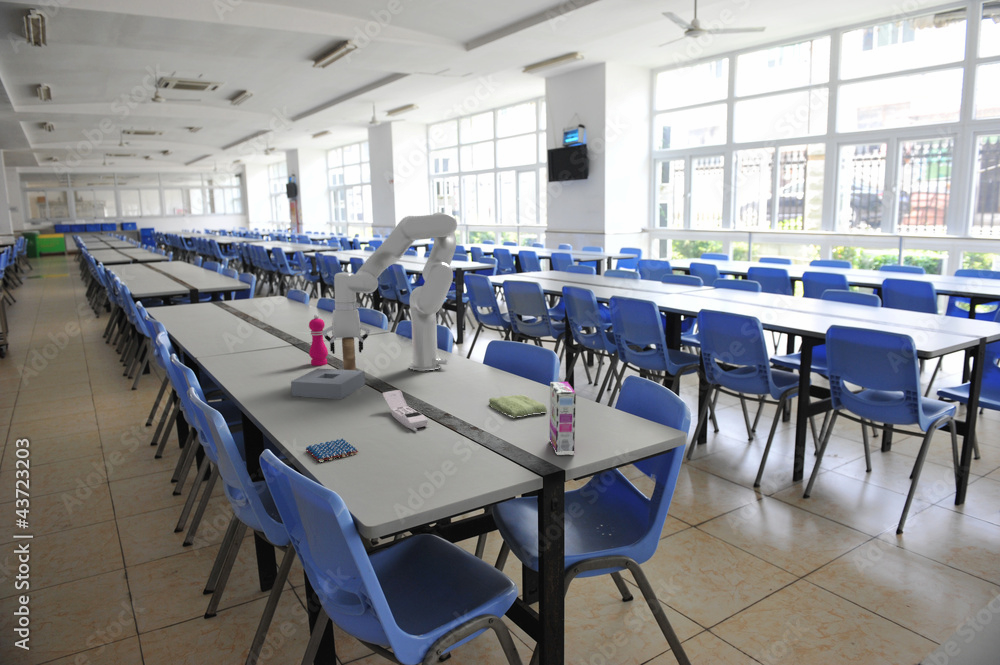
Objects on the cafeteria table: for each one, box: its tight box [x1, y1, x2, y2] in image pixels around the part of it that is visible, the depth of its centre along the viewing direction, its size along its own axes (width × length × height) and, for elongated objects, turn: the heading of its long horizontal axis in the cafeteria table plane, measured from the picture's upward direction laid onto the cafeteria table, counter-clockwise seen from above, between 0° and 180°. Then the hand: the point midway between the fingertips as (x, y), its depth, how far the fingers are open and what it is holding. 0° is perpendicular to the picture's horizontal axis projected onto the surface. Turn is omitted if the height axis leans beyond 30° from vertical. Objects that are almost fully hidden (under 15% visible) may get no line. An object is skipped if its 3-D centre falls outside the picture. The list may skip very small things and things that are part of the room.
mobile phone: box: [382, 389, 429, 433], centre depth 193 cm, size 6×6×25 cm
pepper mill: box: [308, 314, 329, 367], centre depth 260 cm, size 7×7×20 cm
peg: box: [341, 337, 357, 370], centre depth 243 cm, size 4×4×14 cm
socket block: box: [290, 368, 366, 400], centre depth 224 cm, size 18×18×5 cm
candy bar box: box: [549, 381, 577, 452], centre depth 168 cm, size 11×5×16 cm, turn 5°
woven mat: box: [305, 438, 359, 462], centre depth 168 cm, size 10×11×2 cm
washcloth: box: [488, 394, 548, 417], centre depth 202 cm, size 13×18×3 cm
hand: (346, 352), depth 242 cm, fingers open, 9 cm apart
